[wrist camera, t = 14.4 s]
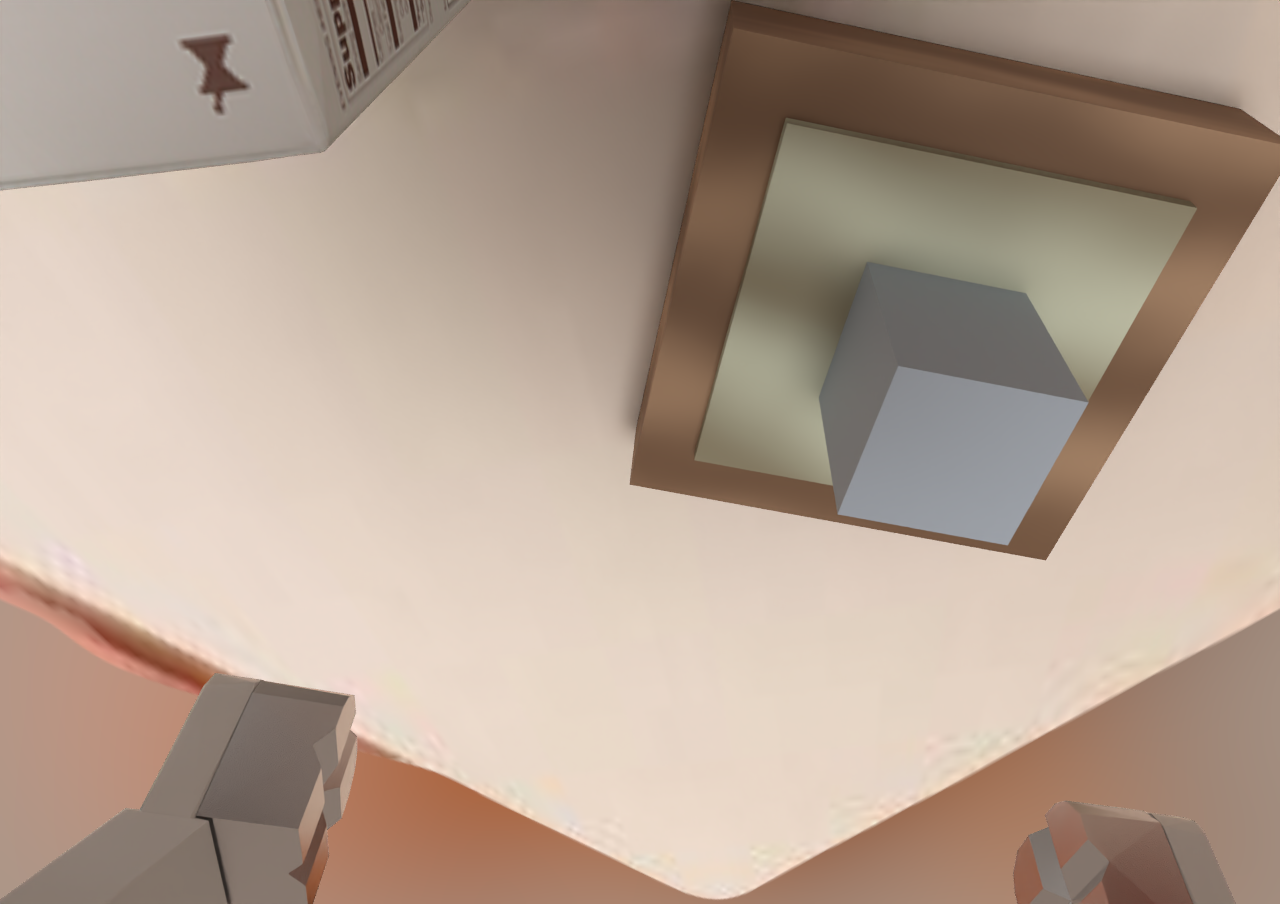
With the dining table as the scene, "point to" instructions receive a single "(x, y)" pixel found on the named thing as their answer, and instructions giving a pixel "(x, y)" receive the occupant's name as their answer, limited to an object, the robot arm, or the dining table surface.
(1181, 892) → the robot arm
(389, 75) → the supplement box
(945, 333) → the slate block
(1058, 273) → the walnut stand
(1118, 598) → the dining table surface
